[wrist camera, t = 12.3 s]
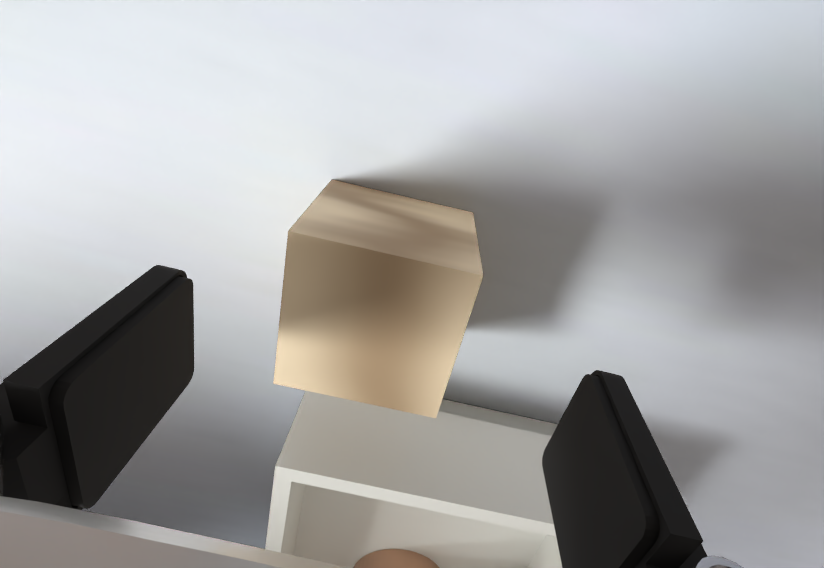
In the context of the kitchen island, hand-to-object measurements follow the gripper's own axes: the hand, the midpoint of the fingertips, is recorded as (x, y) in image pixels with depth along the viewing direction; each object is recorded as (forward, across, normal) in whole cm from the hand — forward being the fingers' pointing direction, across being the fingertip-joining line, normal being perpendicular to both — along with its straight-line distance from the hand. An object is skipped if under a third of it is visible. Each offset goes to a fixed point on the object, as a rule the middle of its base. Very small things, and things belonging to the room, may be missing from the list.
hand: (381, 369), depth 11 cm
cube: (+7, +1, 0) cm, 7 cm away
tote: (+7, -4, +15) cm, 17 cm away
